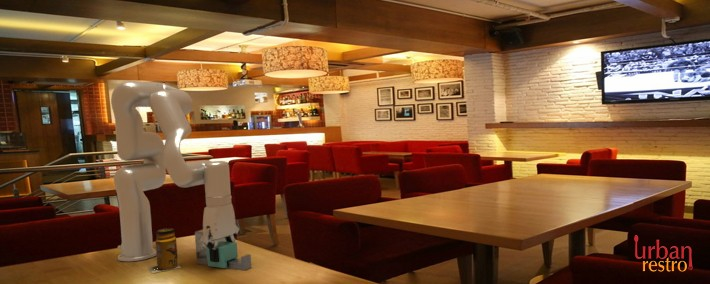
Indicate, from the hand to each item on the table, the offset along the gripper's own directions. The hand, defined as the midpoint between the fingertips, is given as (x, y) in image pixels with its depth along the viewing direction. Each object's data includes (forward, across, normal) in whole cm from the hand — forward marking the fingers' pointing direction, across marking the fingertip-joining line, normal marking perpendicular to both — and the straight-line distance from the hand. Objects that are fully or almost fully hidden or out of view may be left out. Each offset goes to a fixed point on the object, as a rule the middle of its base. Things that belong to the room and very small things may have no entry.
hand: (222, 258), depth 150 cm
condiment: (+3, +8, -17) cm, 19 cm away
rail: (+2, 0, 0) cm, 2 cm away
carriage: (+2, 0, 0) cm, 2 cm away
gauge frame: (+2, -10, -14) cm, 17 cm away
